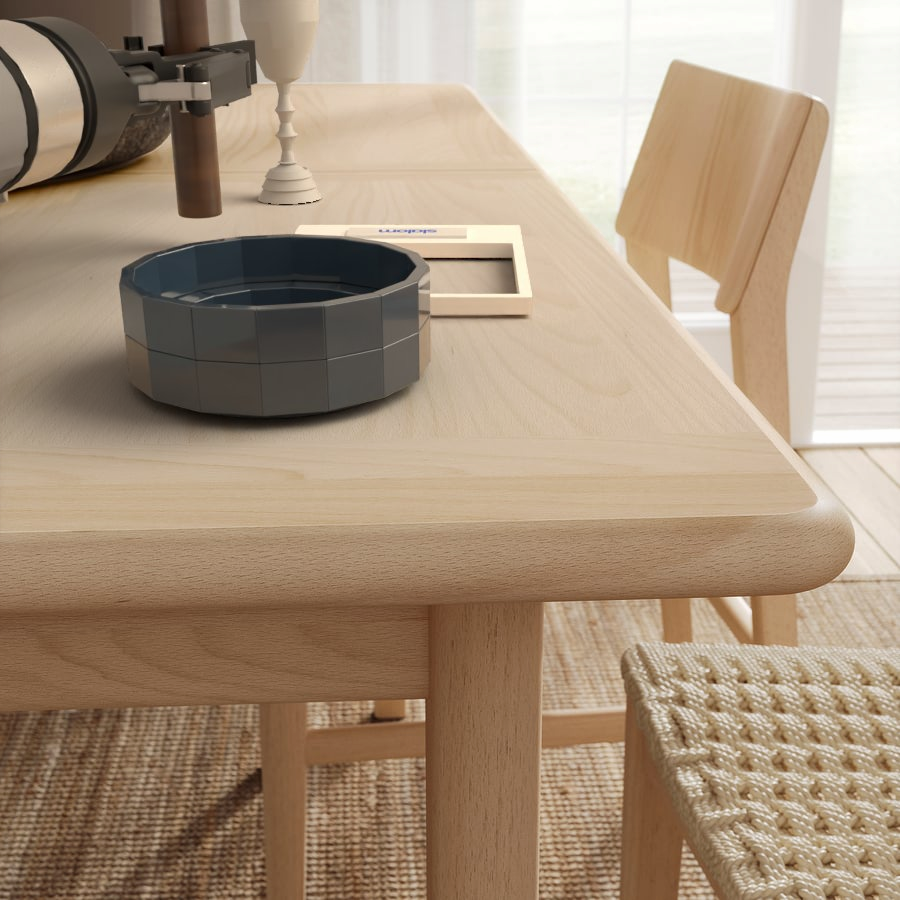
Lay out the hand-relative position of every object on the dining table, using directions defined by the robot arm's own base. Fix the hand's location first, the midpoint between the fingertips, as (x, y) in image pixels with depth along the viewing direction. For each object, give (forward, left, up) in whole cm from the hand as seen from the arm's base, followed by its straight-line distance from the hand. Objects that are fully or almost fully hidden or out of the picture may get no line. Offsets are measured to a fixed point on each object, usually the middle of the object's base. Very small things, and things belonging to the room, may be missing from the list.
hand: (225, 61), depth 77 cm
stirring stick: (+2, -5, -9) cm, 11 cm away
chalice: (-4, +11, -11) cm, 16 cm away
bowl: (+23, -22, -11) cm, 34 cm away
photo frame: (+17, -4, -11) cm, 21 cm away
